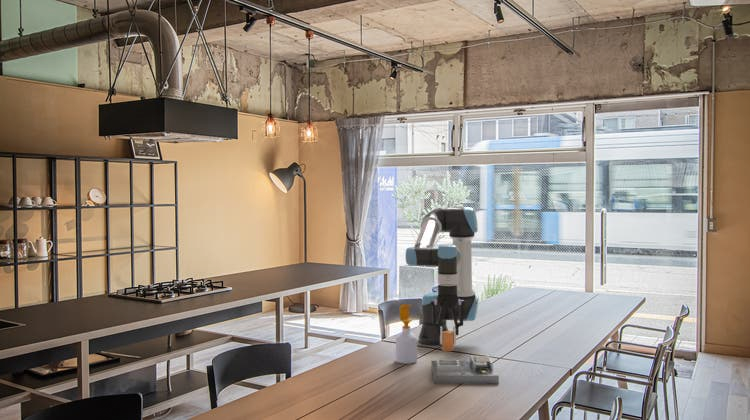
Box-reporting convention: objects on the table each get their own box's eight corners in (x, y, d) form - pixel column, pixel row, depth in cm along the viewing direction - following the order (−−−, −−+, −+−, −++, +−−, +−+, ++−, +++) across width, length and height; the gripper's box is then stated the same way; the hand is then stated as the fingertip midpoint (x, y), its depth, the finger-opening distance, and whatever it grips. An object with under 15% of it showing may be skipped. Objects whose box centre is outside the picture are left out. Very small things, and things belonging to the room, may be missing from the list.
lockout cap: (441, 348, 244) (441, 330, 244) (453, 348, 244) (453, 330, 244) (442, 351, 240) (442, 333, 240) (454, 351, 240) (454, 333, 239)
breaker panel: (431, 368, 252) (431, 352, 252) (490, 367, 251) (490, 352, 251) (434, 383, 232) (434, 367, 232) (498, 383, 231) (498, 367, 231)
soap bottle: (399, 365, 257) (399, 306, 256) (393, 359, 265) (392, 302, 264) (420, 363, 259) (419, 305, 258) (413, 357, 268) (412, 301, 267)
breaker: (473, 362, 246) (473, 356, 247) (486, 362, 246) (485, 356, 247) (476, 361, 238) (476, 355, 238) (489, 361, 237) (489, 355, 238)
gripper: (425, 286, 238) (425, 345, 239) (471, 285, 237) (471, 345, 238) (424, 283, 245) (425, 341, 246) (468, 282, 245) (469, 341, 246)
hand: (447, 343), depth 242 cm, fingers closed on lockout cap, 4 cm apart
